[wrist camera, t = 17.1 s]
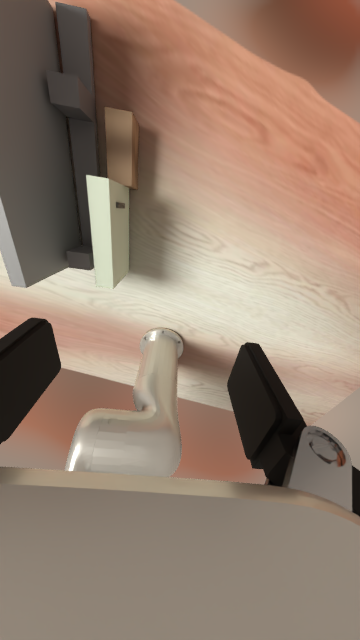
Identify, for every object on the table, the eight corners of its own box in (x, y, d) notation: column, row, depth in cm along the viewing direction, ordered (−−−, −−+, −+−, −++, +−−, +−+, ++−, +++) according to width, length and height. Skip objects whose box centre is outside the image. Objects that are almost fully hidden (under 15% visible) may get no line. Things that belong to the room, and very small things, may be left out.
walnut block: (137, 189, 36) (131, 186, 32) (116, 186, 36) (107, 182, 31) (138, 125, 32) (132, 111, 27) (114, 121, 31) (104, 106, 27)
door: (130, 271, 44) (115, 289, 33) (115, 269, 43) (96, 286, 33) (131, 188, 36) (111, 179, 25) (113, 185, 35) (86, 174, 25)
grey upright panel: (105, 263, 43) (62, 292, 27) (73, 258, 42) (11, 285, 27) (90, 16, 26) (-46, -274, 10) (37, 5, 26) (-186, -317, 10)
